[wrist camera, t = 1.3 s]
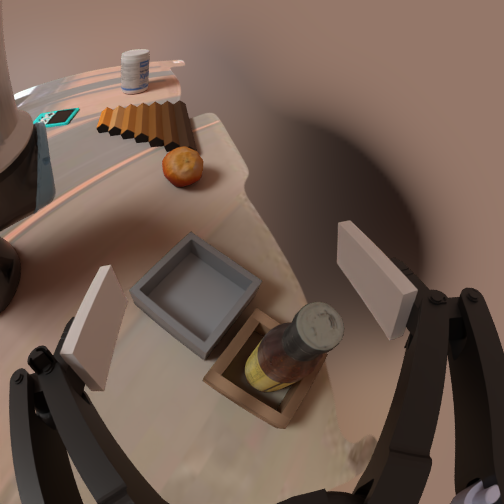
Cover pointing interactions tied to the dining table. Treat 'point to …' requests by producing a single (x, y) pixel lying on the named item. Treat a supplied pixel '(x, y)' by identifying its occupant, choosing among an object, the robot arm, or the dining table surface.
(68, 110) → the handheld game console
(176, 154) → the fruit
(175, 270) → the grey square tray
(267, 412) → the walnut holder
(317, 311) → the sauce bottle
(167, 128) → the brown ridged flat piece
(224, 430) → the dining table surface
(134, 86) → the supplement tub
